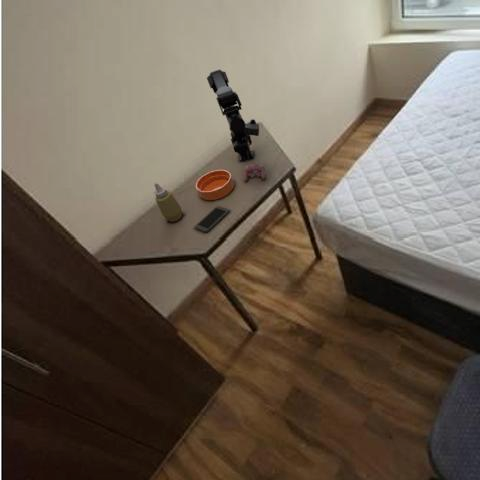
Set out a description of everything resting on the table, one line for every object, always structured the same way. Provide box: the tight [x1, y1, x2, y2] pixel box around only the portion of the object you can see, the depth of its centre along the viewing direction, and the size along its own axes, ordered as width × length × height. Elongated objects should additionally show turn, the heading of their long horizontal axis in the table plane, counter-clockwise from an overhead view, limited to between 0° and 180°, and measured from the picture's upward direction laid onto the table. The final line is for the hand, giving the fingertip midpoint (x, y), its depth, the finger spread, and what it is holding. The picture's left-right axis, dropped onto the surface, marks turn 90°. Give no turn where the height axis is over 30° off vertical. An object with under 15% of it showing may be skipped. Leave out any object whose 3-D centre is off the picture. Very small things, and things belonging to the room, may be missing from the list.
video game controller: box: [243, 163, 266, 182], centre depth 178 cm, size 10×5×7 cm, turn 84°
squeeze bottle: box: [154, 182, 183, 223], centre depth 163 cm, size 8×8×18 cm
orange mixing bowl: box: [195, 169, 235, 201], centre depth 177 cm, size 16×16×5 cm
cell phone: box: [194, 206, 230, 233], centre depth 163 cm, size 7×14×1 cm, turn 146°
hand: (247, 154), depth 171 cm, fingers open, 9 cm apart
